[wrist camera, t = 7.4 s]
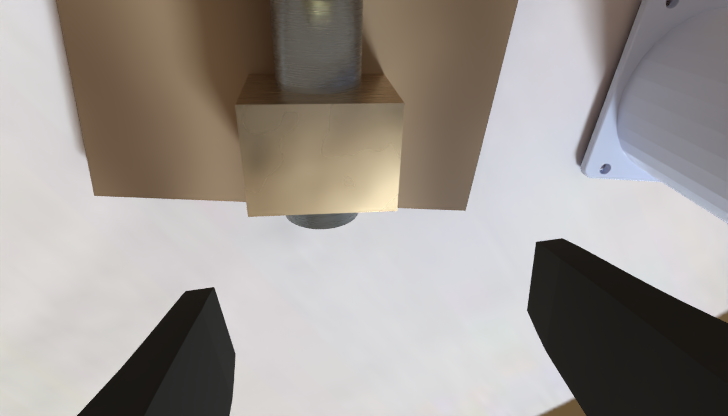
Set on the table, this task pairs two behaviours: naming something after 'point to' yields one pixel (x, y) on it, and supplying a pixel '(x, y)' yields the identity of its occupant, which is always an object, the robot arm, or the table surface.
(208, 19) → the board
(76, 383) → the table surface
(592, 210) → the table surface
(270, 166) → the shaft
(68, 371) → the table surface
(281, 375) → the table surface
